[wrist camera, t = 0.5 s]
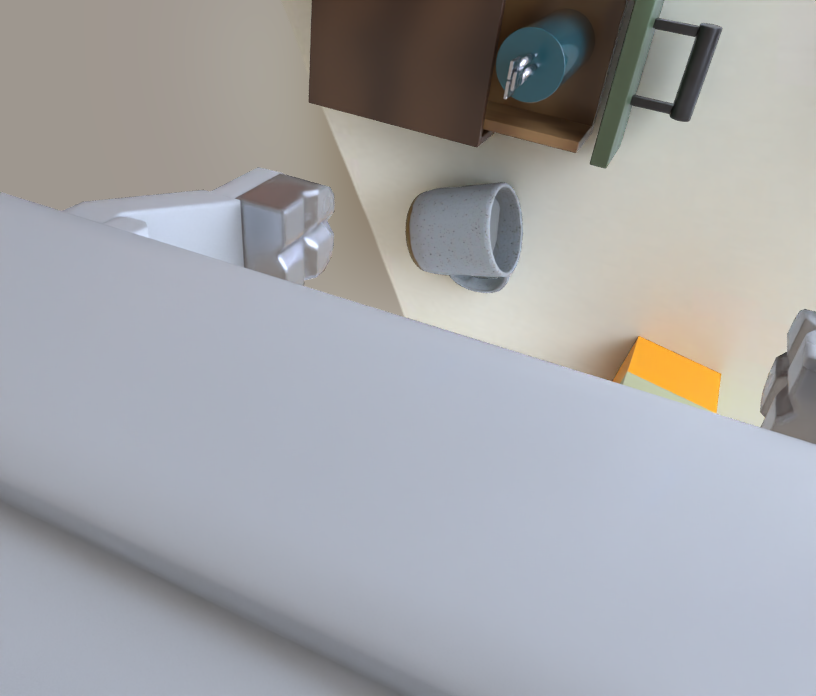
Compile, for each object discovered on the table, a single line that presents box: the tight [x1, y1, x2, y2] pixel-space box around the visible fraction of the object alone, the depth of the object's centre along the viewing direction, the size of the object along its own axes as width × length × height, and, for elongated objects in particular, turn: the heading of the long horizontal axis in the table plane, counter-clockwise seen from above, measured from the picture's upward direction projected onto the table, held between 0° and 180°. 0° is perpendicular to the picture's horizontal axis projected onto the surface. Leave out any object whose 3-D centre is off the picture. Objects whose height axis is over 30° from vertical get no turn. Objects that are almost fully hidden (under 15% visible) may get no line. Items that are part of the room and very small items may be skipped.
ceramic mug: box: [406, 183, 523, 293], centre depth 59 cm, size 11×8×8 cm
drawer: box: [483, 0, 722, 168], centre depth 48 cm, size 18×13×6 cm
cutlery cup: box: [496, 8, 595, 103], centre depth 45 cm, size 4×4×13 cm
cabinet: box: [309, 0, 506, 147], centre depth 51 cm, size 14×14×7 cm
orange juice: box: [612, 336, 721, 413], centre depth 55 cm, size 8×9×20 cm
